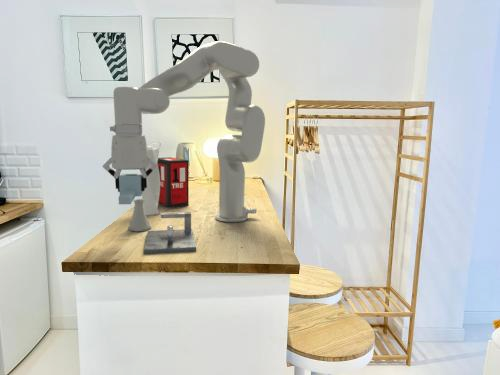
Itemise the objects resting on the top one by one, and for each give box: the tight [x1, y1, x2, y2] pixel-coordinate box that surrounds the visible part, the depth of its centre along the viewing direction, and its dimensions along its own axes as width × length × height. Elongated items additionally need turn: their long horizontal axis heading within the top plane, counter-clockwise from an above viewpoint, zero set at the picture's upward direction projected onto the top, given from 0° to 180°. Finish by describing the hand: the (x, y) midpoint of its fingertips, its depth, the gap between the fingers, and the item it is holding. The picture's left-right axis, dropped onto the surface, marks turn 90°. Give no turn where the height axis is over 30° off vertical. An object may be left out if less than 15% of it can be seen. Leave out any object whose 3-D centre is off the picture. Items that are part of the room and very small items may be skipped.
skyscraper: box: [141, 141, 162, 216], centre depth 141 cm, size 8×8×28 cm
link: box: [118, 173, 143, 205], centre depth 103 cm, size 17×6×6 cm, turn 11°
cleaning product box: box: [157, 157, 190, 209], centre depth 160 cm, size 16×9×20 cm, turn 40°
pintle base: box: [143, 211, 197, 255], centre depth 107 cm, size 14×18×7 cm
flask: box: [127, 198, 152, 232], centre depth 120 cm, size 7×7×10 cm
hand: (131, 190), depth 109 cm, fingers closed on link, 6 cm apart
